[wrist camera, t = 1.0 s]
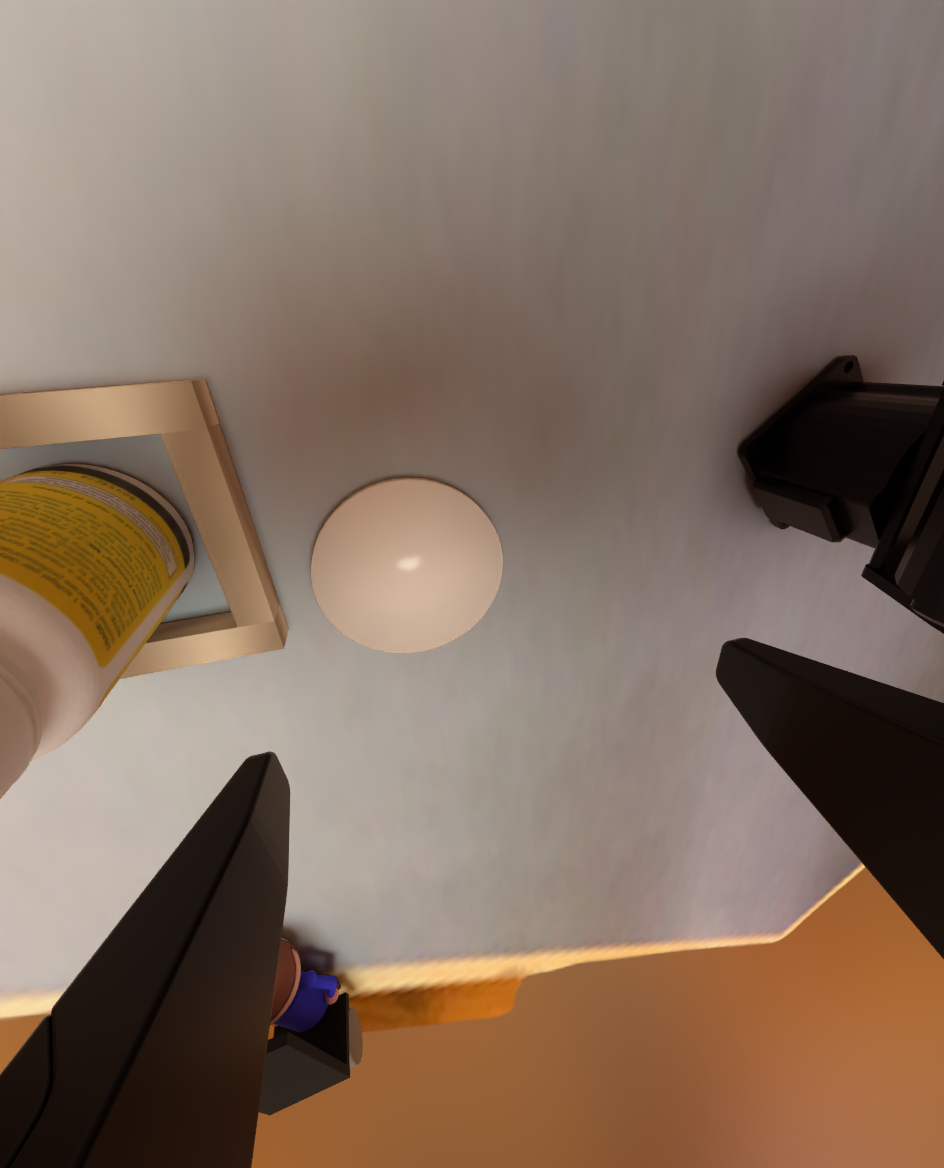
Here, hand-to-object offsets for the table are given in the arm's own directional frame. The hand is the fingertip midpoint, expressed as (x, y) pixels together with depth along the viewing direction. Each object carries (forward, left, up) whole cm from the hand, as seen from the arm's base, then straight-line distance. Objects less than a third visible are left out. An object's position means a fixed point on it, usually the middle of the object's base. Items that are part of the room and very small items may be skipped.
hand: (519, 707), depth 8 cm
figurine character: (+35, +20, -13) cm, 42 cm away
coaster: (+3, +2, -13) cm, 13 cm away
